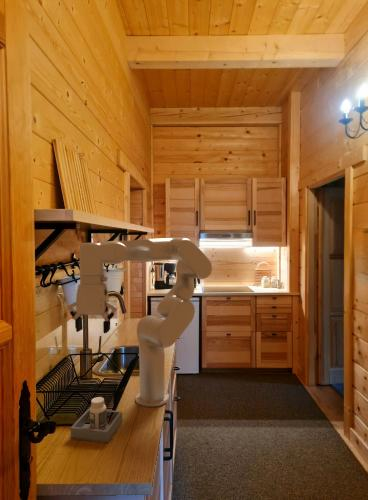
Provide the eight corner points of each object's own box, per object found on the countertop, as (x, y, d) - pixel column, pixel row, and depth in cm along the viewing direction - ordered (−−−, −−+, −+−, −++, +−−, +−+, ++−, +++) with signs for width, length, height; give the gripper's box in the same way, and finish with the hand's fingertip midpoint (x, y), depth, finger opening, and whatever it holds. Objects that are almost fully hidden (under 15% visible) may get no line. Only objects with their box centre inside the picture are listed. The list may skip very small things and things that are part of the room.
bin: (88, 418, 116) (88, 408, 116) (122, 421, 114) (122, 411, 114) (70, 439, 105) (70, 427, 105) (107, 443, 102) (107, 431, 102)
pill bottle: (107, 421, 113) (107, 395, 113) (105, 431, 108) (105, 403, 107) (91, 422, 113) (90, 396, 112) (88, 431, 107) (87, 404, 107)
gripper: (120, 279, 115) (121, 329, 116) (73, 278, 118) (74, 327, 119) (112, 282, 108) (112, 336, 108) (61, 281, 111) (62, 333, 112)
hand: (92, 331), depth 114 cm, fingers open, 9 cm apart
